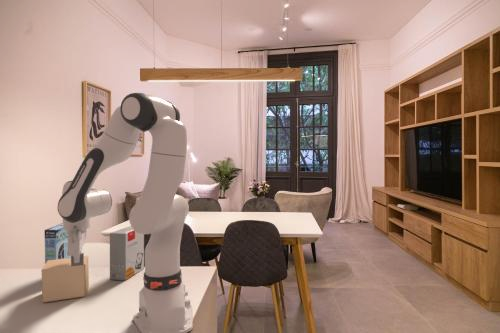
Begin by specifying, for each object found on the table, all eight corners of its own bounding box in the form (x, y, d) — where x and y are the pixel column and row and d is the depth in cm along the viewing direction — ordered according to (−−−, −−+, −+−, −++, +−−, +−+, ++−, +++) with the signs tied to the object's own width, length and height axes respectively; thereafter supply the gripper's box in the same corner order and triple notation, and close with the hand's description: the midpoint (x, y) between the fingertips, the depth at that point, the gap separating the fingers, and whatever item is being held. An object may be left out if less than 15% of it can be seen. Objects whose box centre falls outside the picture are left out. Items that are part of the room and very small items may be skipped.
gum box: (69, 269, 151) (68, 220, 150) (80, 268, 151) (79, 220, 150) (44, 285, 131) (43, 229, 131) (57, 285, 131) (56, 229, 131)
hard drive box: (125, 281, 135) (124, 233, 134) (109, 280, 136) (108, 233, 136) (144, 268, 150) (144, 226, 150) (129, 267, 152) (129, 225, 151)
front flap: (84, 296, 119) (83, 254, 119) (42, 302, 114) (41, 258, 114) (84, 294, 121) (83, 252, 120) (43, 301, 116) (42, 257, 115)
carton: (86, 296, 121) (85, 264, 120) (42, 302, 115) (41, 269, 115) (88, 285, 131) (88, 255, 131) (48, 290, 126) (48, 260, 125)
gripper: (83, 228, 110) (84, 268, 110) (88, 218, 129) (89, 252, 129) (62, 230, 108) (63, 271, 108) (70, 219, 126) (71, 254, 127)
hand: (77, 261), depth 119 cm, fingers closed on front flap, 2 cm apart
